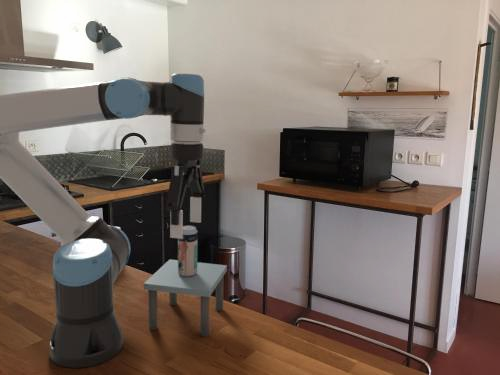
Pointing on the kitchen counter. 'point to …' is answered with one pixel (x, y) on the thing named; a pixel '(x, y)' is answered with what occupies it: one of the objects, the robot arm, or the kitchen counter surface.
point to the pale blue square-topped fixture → (187, 289)
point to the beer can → (187, 252)
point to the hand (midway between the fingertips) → (186, 229)
